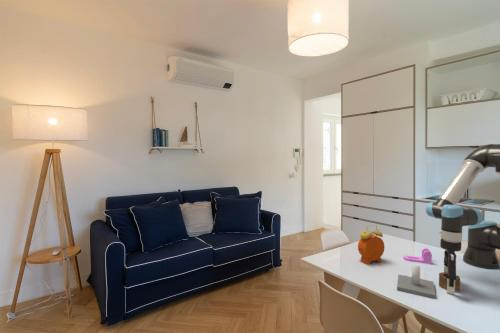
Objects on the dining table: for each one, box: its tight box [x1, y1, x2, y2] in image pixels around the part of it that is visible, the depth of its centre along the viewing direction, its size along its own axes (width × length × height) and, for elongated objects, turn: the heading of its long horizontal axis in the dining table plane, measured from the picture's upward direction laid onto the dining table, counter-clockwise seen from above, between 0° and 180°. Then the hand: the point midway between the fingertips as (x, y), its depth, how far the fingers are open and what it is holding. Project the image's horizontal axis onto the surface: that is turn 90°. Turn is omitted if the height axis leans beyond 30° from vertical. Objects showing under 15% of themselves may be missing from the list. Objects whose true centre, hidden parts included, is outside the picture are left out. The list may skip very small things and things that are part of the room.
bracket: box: [403, 247, 433, 265], centre depth 153 cm, size 13×6×7 cm, turn 66°
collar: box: [438, 271, 461, 292], centre depth 123 cm, size 7×7×5 cm
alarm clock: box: [357, 224, 385, 265], centre depth 152 cm, size 13×6×20 cm, turn 108°
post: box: [396, 264, 437, 300], centre depth 122 cm, size 14×14×10 cm
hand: (448, 286), depth 123 cm, fingers open, 13 cm apart
